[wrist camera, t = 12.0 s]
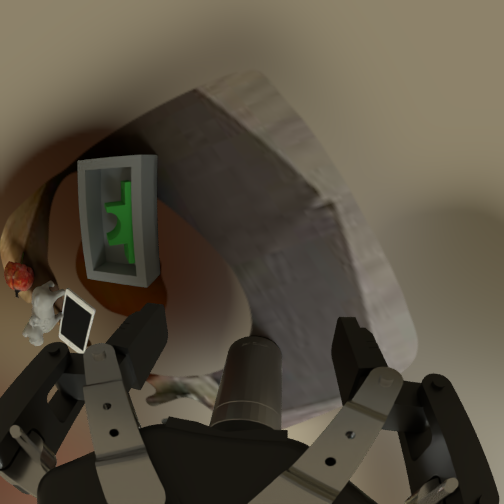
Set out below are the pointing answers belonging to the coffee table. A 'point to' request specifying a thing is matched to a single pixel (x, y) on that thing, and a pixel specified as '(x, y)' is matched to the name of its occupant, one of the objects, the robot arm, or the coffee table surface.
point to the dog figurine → (42, 313)
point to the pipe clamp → (122, 222)
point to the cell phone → (76, 321)
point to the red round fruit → (19, 276)
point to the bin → (100, 222)
